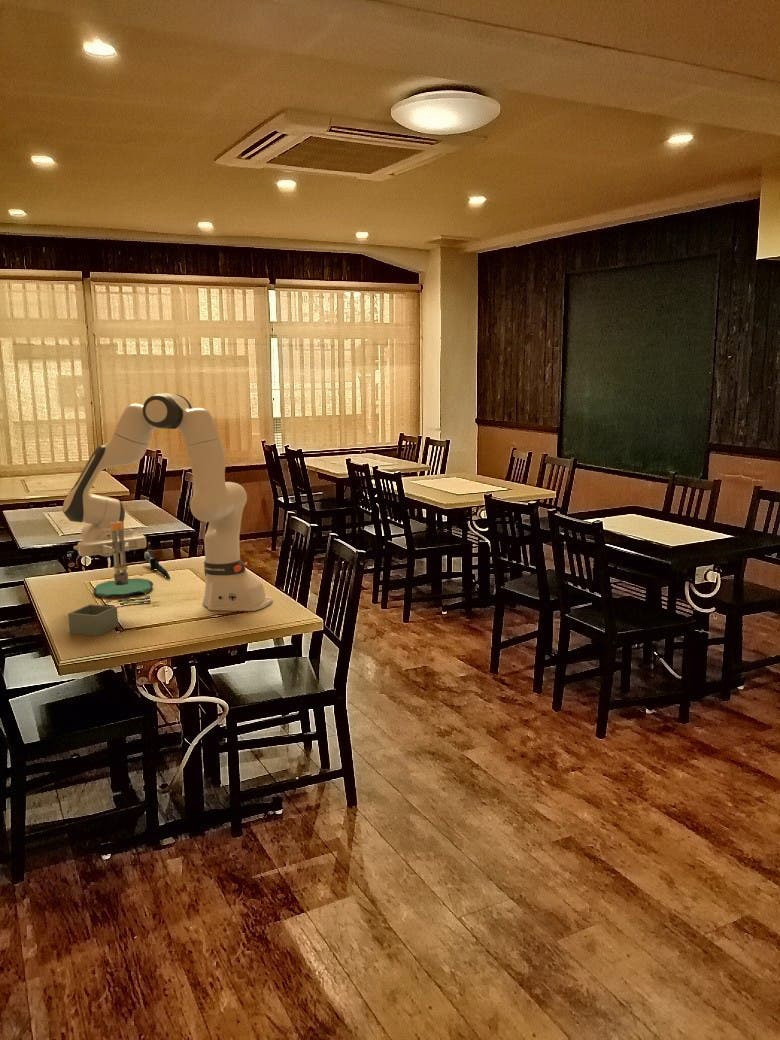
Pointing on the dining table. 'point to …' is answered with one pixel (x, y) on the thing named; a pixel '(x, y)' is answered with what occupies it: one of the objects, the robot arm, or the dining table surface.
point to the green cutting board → (125, 589)
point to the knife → (155, 564)
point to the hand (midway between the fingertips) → (119, 549)
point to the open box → (93, 620)
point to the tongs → (123, 576)
